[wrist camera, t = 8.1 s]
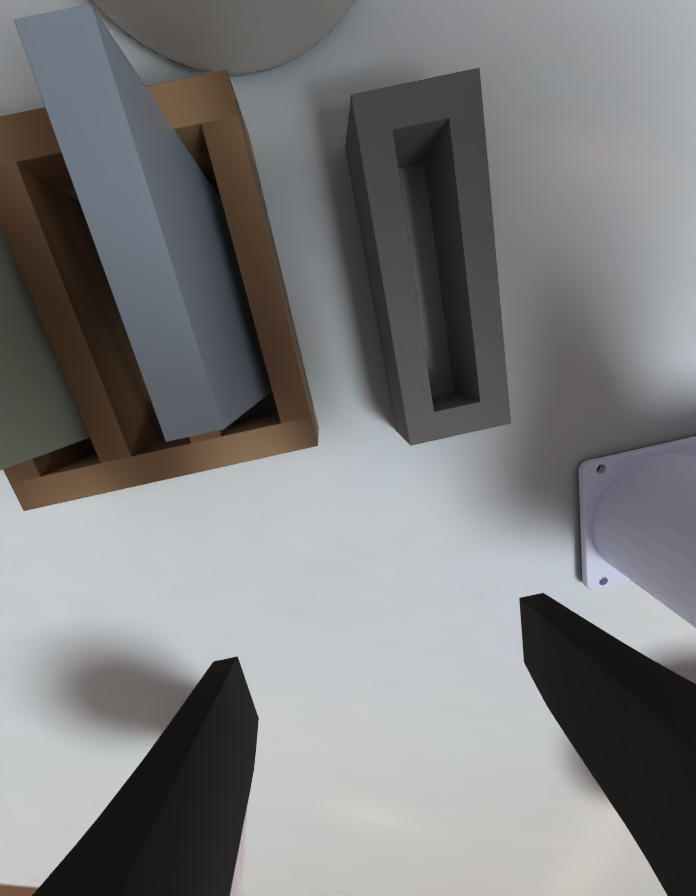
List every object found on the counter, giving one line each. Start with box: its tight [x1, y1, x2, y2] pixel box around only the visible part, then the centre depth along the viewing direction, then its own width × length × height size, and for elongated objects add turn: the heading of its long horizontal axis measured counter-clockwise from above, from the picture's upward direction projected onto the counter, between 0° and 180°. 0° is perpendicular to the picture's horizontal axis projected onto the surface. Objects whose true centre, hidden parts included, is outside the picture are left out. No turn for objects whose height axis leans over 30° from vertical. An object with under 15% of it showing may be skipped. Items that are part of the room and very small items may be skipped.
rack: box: [0, 70, 319, 511], centre depth 14 cm, size 12×12×4 cm
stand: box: [346, 68, 511, 446], centre depth 15 cm, size 4×12×3 cm, turn 12°
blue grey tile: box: [14, 4, 272, 442], centre depth 12 cm, size 1×8×9 cm, turn 12°
